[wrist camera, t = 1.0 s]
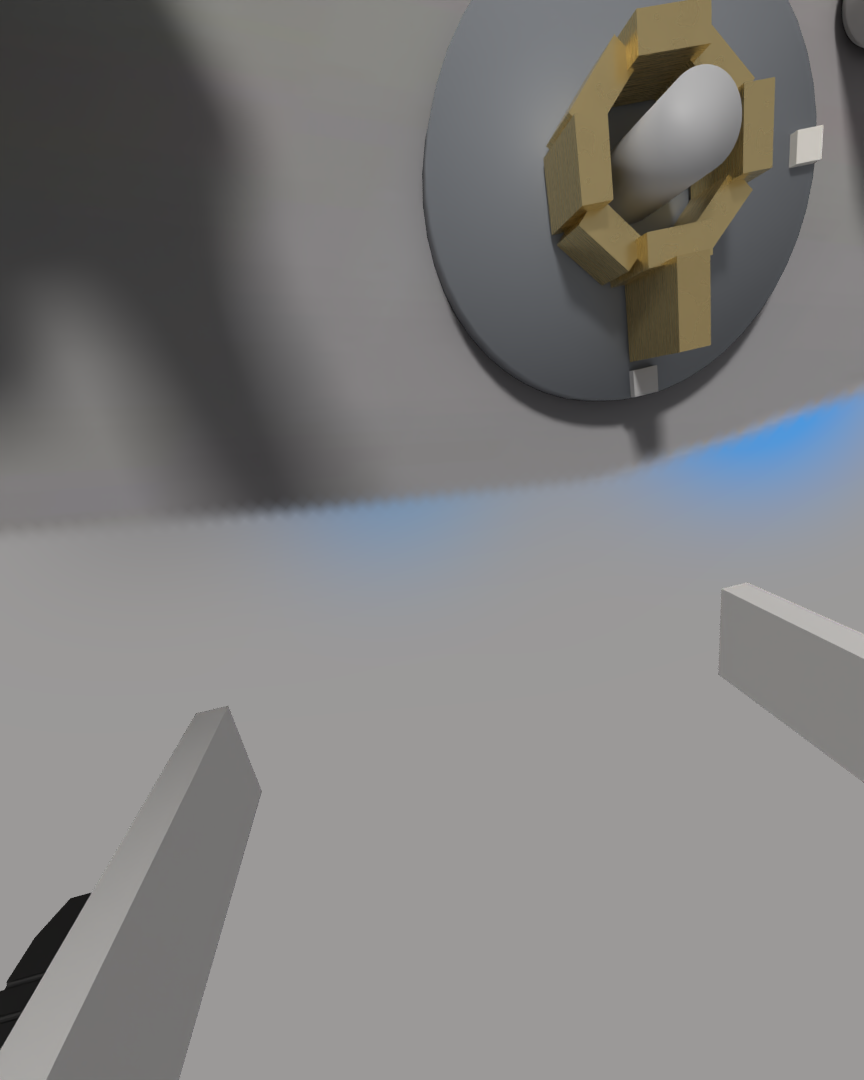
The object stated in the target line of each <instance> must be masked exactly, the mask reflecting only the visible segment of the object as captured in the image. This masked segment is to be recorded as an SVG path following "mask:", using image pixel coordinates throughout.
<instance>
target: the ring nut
mask: <svg viewBox="0 0 864 1080" xmlns="http://www.w3.org/2000/svg"><path fill="white" fill-rule="evenodd" d="M701 64H711V65H715V66H718V67H720V68H722V69H723V70H725V71H726V72H727V73H728V74H729V75H730V76H731V77H732V79H733V80H734V82H735V84H736V86H737V88H738V91H739V94H740V98H741V104H742V122H741V128H740V132H739V136H738V138H737V141H736V143H735V146H734V148H733V149H732V151H731V153H730V154H729V156H728V157H727V158H726V159H725V161H724V162H723V163H722V164H720V165H719V166H718V167H717V168H715V169H714V170H713V171H711V172H710V173H708V174H707V175H705V176H704V177H703V178H701V179H700V180H698V181H697V182H696V183H694V184H693V185H691V186H690V187H691V200H690V201H689V203H688V204H687V206H686V207H685V209H684V210H683V212H682V213H681V215H680V217H679V218H678V220H677V221H676V223H675V224H674V226H673V227H670V228H665V229H660V230H655V231H650V232H647V233H645V234H643V235H642V236H640V235H639V234H638V233H637V232H636V231H635V230H634V229H633V228H632V227H631V226H630V225H629V224H628V223H627V222H626V221H625V220H624V219H623V218H622V217H621V216H620V215H619V214H617V213H616V212H615V211H614V210H613V209H612V208H611V207H610V206H609V205H608V204H609V203H610V202H611V201H612V200H613V185H612V170H611V156H610V141H609V126H608V112H609V111H610V109H611V107H616V106H622V105H627V104H632V103H638V102H643V101H649V100H655V101H656V102H657V100H658V99H659V98H660V97H661V96H662V95H663V94H664V93H665V92H666V91H667V90H668V89H669V88H670V86H671V85H672V84H673V83H674V82H675V81H676V80H677V79H678V78H679V77H680V76H681V75H682V74H683V73H684V72H686V71H687V70H689V69H690V68H692V67H694V66H697V65H701ZM754 79H755V77H754V76H753V75H752V74H751V72H750V71H749V70H748V69H747V67H746V66H745V65H744V64H743V62H742V61H741V60H740V59H739V57H738V56H737V55H736V54H735V52H734V51H733V50H732V49H731V48H730V46H729V45H728V44H727V43H726V41H725V40H724V39H723V38H722V36H721V35H720V34H719V33H718V31H717V30H716V29H715V28H714V26H713V25H712V6H711V0H685V1H679V2H673V3H667V4H661V5H655V6H649V7H643V8H637V9H636V10H635V11H634V13H633V14H632V16H631V17H630V19H629V20H628V22H627V24H626V25H625V27H624V28H623V30H622V31H621V33H620V34H619V36H618V37H616V35H615V34H614V36H613V37H612V39H611V40H610V42H609V43H608V45H607V46H606V48H605V49H604V51H603V52H602V54H601V56H600V57H599V59H598V60H597V62H596V63H595V65H594V66H593V68H592V69H591V71H590V73H589V74H588V76H587V77H586V79H585V80H584V82H583V84H582V86H581V87H580V89H579V91H578V92H577V94H576V96H575V97H574V99H573V101H572V103H571V104H570V106H569V108H568V109H567V111H566V113H565V115H564V116H563V118H562V120H561V121H560V123H559V125H558V126H557V128H556V130H555V132H554V133H553V135H552V137H551V138H550V140H549V142H548V144H547V145H546V147H547V148H548V149H549V151H548V153H547V154H546V156H545V157H544V159H543V160H544V169H545V178H546V187H547V196H548V206H549V215H550V224H551V233H552V235H556V234H561V233H564V234H563V235H562V237H561V239H560V240H559V242H558V244H557V246H558V247H559V248H560V249H561V250H562V251H564V252H565V253H566V254H567V255H568V256H569V257H570V258H571V259H573V260H574V261H575V262H576V263H577V264H578V265H579V266H580V267H582V268H583V269H584V270H585V271H586V272H587V273H588V274H589V275H591V276H592V277H593V278H594V279H595V280H596V281H597V282H598V283H600V284H601V285H602V286H603V285H605V284H606V283H608V282H610V285H611V288H613V287H618V286H622V285H625V296H626V312H627V327H628V343H629V359H630V362H633V361H638V360H643V359H648V358H654V357H659V356H664V355H669V354H674V353H679V352H684V351H688V350H692V349H697V348H701V347H705V346H709V345H711V285H710V256H711V255H713V247H714V246H715V244H716V243H717V241H718V240H719V239H720V237H721V236H722V234H723V233H724V231H725V230H726V228H727V227H728V225H729V224H730V222H731V221H732V219H733V218H734V217H735V215H736V214H737V212H738V211H739V209H740V208H741V206H742V205H743V203H744V202H745V200H746V199H747V197H748V196H749V195H750V193H751V192H752V190H753V189H752V188H751V187H750V186H749V185H748V184H747V183H748V182H749V181H751V180H753V179H754V178H756V177H758V176H759V175H761V174H763V173H764V172H766V171H768V170H769V169H771V168H772V165H773V133H774V101H775V77H772V78H766V79H761V80H756V81H753V80H754Z"/></svg>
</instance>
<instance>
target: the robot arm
mask: <svg viewBox="0 0 864 1080" xmlns="http://www.w3.org/2000/svg"><path fill="white" fill-rule="evenodd" d="M720 619H721V620H720V644H719V645H720V646H719V672H718V674H719V675H720V676H721V677H722V678H724V679H725V680H727V681H728V682H729V683H730V684H732V685H733V686H735V687H736V688H737V689H738V690H740V691H741V692H743V693H744V694H745V695H747V696H748V697H749V698H751V699H752V700H753V701H755V702H756V703H757V704H759V705H760V706H761V707H763V708H764V709H765V710H767V711H768V712H769V713H771V714H772V715H773V716H775V717H776V718H778V719H779V720H780V721H782V722H783V723H784V724H786V725H787V726H788V727H790V728H791V729H792V730H794V731H795V732H796V733H798V734H799V735H801V736H802V737H803V738H804V739H806V740H807V741H809V742H810V743H811V744H813V745H814V746H815V747H817V748H818V749H819V750H821V751H822V752H823V753H825V754H826V755H827V756H829V757H830V758H831V759H833V760H834V761H835V762H837V763H838V764H839V765H841V766H842V767H843V768H845V769H846V770H847V771H849V772H850V773H851V774H853V775H854V776H855V777H857V778H858V779H860V780H861V781H862V782H864V634H862V633H860V632H858V631H856V630H853V629H851V628H849V627H846V626H844V625H842V624H840V623H838V622H835V621H833V620H831V619H829V618H826V617H824V616H822V615H820V614H817V613H815V612H813V611H811V610H808V609H806V608H804V607H801V606H799V605H797V604H795V603H792V602H790V601H788V600H786V599H783V598H781V597H779V596H777V595H774V594H772V593H770V592H768V591H765V590H763V589H761V588H759V587H756V586H754V585H752V584H749V583H743V584H740V585H735V586H731V587H727V588H722V590H721V617H720ZM260 795H261V789H260V786H259V783H258V781H257V778H256V776H255V774H254V771H253V768H252V766H251V763H250V761H249V758H248V755H247V753H246V750H245V748H244V745H243V743H242V740H241V738H240V735H239V733H238V730H237V728H236V725H235V722H234V720H233V717H232V715H231V712H230V710H229V707H228V706H226V707H221V708H217V709H213V710H209V711H205V712H200V713H196V714H195V716H194V718H193V720H192V721H191V723H190V725H189V726H188V728H187V730H186V732H185V733H184V735H183V737H182V739H181V740H180V742H179V744H178V745H177V747H176V749H175V751H174V753H173V754H172V756H171V758H170V759H169V761H168V763H167V764H166V766H165V768H164V770H163V771H162V773H161V775H160V777H159V778H158V780H157V782H156V783H155V785H154V787H153V788H152V790H151V792H150V794H149V795H148V797H147V799H146V800H145V802H144V804H143V806H142V807H141V809H140V811H139V812H138V814H137V816H136V818H135V819H134V821H133V823H132V825H131V826H130V828H129V830H128V832H127V833H126V835H125V837H124V838H123V840H122V842H121V843H120V845H119V847H118V849H117V850H116V852H115V854H114V855H113V857H112V859H111V861H110V863H109V864H108V866H107V867H106V869H105V871H104V873H103V874H102V876H101V878H100V879H99V881H98V883H97V885H96V887H95V888H94V890H93V892H92V893H89V894H85V895H81V896H77V897H74V898H71V899H70V900H69V901H68V902H67V903H66V904H65V905H64V906H63V907H62V908H61V909H60V911H59V912H58V913H57V914H56V915H55V916H54V917H53V918H52V919H51V921H50V922H49V923H48V924H47V925H46V926H45V927H44V928H43V929H42V930H41V931H40V933H39V934H38V935H37V936H36V937H35V938H34V940H33V941H32V943H31V945H30V946H29V948H28V949H27V951H26V952H25V954H24V955H23V957H22V959H21V960H20V962H19V963H18V965H17V966H16V968H15V970H14V971H13V973H12V975H11V976H10V977H9V979H8V981H7V986H6V988H5V990H3V991H0V1080H179V1077H180V1074H181V1070H182V1067H183V1063H184V1059H185V1057H186V1053H187V1050H188V1046H189V1043H190V1039H191V1036H192V1032H193V1029H194V1025H195V1021H196V1018H197V1014H198V1011H199V1008H200V1004H201V1001H202V997H203V994H204V990H205V987H206V983H207V980H208V976H209V973H210V969H211V965H212V962H213V959H214V955H215V952H216V948H217V945H218V941H219V938H220V934H221V931H222V927H223V924H224V921H225V917H226V913H227V910H228V907H229V903H230V900H231V896H232V893H233V889H234V886H235V882H236V879H237V875H238V872H239V868H240V865H241V861H242V858H243V854H244V851H245V847H246V844H247V841H248V837H249V833H250V830H251V827H252V823H253V819H254V816H255V813H256V809H257V806H258V802H259V799H260Z"/></svg>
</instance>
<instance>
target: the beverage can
mask: <svg viewBox="0 0 864 1080" xmlns="http://www.w3.org/2000/svg"><path fill="white" fill-rule="evenodd" d="M842 18H843V24H844V28H845V31H846V33H847V35H848V37H849V39H850V40H851V41H852V42H853V43H854V44H856V45H857V46H859V47H862V48H864V0H843V5H842Z"/></svg>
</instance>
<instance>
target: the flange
mask: <svg viewBox="0 0 864 1080" xmlns="http://www.w3.org/2000/svg"><path fill="white" fill-rule="evenodd" d="M679 1H685V0H472V1H471V3H470V4H469V6H468V7H467V9H466V11H465V12H464V14H463V16H462V18H461V20H460V23H459V25H458V27H457V29H456V31H455V34H454V36H453V38H452V40H451V43H450V45H449V47H448V49H447V53H446V56H445V59H444V62H443V65H442V68H441V72H440V75H439V78H438V81H437V85H436V89H435V94H434V99H433V104H432V109H431V114H430V119H429V124H428V129H427V134H426V139H425V148H424V160H423V172H422V180H423V209H424V216H425V224H426V231H427V238H428V242H429V246H430V250H431V254H432V258H433V262H434V266H435V268H436V271H437V274H438V277H439V279H440V282H441V285H442V287H443V290H444V292H445V294H446V296H447V298H448V300H449V302H450V304H451V306H452V308H453V310H454V312H455V314H456V316H457V317H458V319H459V320H460V322H461V323H462V325H463V326H464V328H465V329H466V331H467V332H468V334H469V335H470V337H471V338H472V339H473V340H474V341H475V342H476V344H477V345H478V346H479V347H480V348H481V349H482V350H483V351H484V353H485V354H486V355H487V356H488V357H489V358H490V359H492V360H493V361H494V362H495V363H496V364H497V365H499V366H500V367H501V368H502V369H503V370H504V371H506V372H507V373H509V374H510V375H512V376H513V377H515V378H517V379H518V380H520V381H521V382H523V383H524V384H527V385H529V386H531V387H533V388H535V389H538V390H540V391H542V392H545V393H548V394H552V395H555V396H559V397H562V398H567V399H575V400H583V401H602V400H621V399H627V398H633V397H639V396H644V395H647V394H650V393H654V392H658V391H660V390H663V389H666V388H668V387H670V386H672V385H674V384H676V383H679V382H681V381H683V380H685V379H687V378H688V377H690V376H691V375H693V374H695V373H696V372H698V371H699V370H701V369H703V368H704V367H706V366H707V365H708V364H709V363H711V362H712V361H713V360H714V359H716V358H717V357H718V356H719V355H721V354H722V353H723V352H724V351H725V350H726V349H727V348H728V347H729V346H730V345H731V344H732V343H733V342H734V341H735V340H736V339H737V338H738V337H739V336H740V335H741V334H742V333H743V332H744V331H745V329H746V328H747V327H748V326H749V324H750V323H751V322H752V321H753V319H754V318H755V317H756V316H757V314H758V313H759V312H760V310H761V309H762V307H763V306H764V304H765V302H766V301H767V299H768V298H769V296H770V295H771V293H772V292H773V290H774V288H775V286H776V285H777V283H778V281H779V279H780V277H781V275H782V273H783V271H784V269H785V267H786V265H787V263H788V261H789V258H790V256H791V253H792V251H793V248H794V246H795V243H796V241H797V238H798V235H799V232H800V229H801V225H802V222H803V219H804V215H805V212H806V209H807V204H808V199H809V194H810V189H811V184H812V179H813V170H814V163H815V162H817V161H819V160H821V157H822V141H823V125H820V126H816V106H815V95H814V84H813V78H812V73H811V68H810V63H809V58H808V53H807V49H806V46H805V43H804V40H803V36H802V33H801V30H800V27H799V24H798V21H797V18H796V16H795V14H794V12H793V10H792V7H791V5H790V3H789V1H788V0H711V6H712V25H713V26H714V28H715V29H716V30H717V31H718V33H719V34H720V35H721V36H722V38H723V39H724V40H725V41H726V43H727V44H728V45H729V46H730V48H731V49H732V50H733V51H734V52H735V54H736V55H737V56H738V57H739V59H740V60H741V61H742V62H743V64H744V65H745V66H746V67H747V69H748V70H749V71H750V72H751V74H752V75H753V76H754V77H755V79H754V80H753V81H756V80H761V79H766V78H772V77H775V101H774V133H773V165H772V168H771V169H769V170H768V171H766V172H764V173H763V174H761V175H759V176H758V177H756V178H754V179H753V180H751V181H749V182H748V183H747V184H748V185H749V186H750V187H751V188H752V189H753V190H752V192H751V193H750V195H749V196H748V197H747V199H746V200H745V202H744V203H743V205H742V206H741V208H740V209H739V211H738V212H737V214H736V215H735V217H734V218H733V219H732V221H731V222H730V224H729V225H728V227H727V228H726V230H725V231H724V233H723V234H722V236H721V237H720V239H719V240H718V241H717V243H716V244H715V246H714V247H713V255H711V256H710V285H711V345H709V346H705V347H701V348H697V349H692V350H688V351H684V352H679V353H674V354H669V355H664V356H659V357H654V358H648V359H643V360H638V361H633V362H630V359H629V343H628V327H627V312H626V296H625V285H622V286H618V287H613V288H611V285H610V282H608V283H606V284H605V285H603V286H602V285H601V284H600V283H598V282H597V281H596V280H595V279H594V278H593V277H592V276H591V275H589V274H588V273H587V272H586V271H585V270H584V269H583V268H582V267H580V266H579V265H578V264H577V263H576V262H575V261H574V260H573V259H571V258H570V257H569V256H568V255H567V254H566V253H565V252H564V251H562V250H561V249H560V248H559V247H558V246H557V244H558V242H559V240H560V239H561V237H562V235H563V234H564V233H561V234H556V235H552V233H551V224H550V215H549V206H548V196H547V187H546V178H545V169H544V160H543V159H544V157H545V156H546V154H547V153H548V151H549V149H548V148H547V147H546V145H547V144H548V142H549V140H550V138H551V137H552V135H553V133H554V132H555V130H556V128H557V126H558V125H559V123H560V121H561V120H562V118H563V116H564V115H565V113H566V111H567V109H568V108H569V106H570V104H571V103H572V101H573V99H574V97H575V96H576V94H577V92H578V91H579V89H580V87H581V86H582V84H583V82H584V80H585V79H586V77H587V76H588V74H589V73H590V71H591V69H592V68H593V66H594V65H595V63H596V62H597V60H598V59H599V57H600V56H601V54H602V52H603V51H604V49H605V48H606V46H607V45H608V43H609V42H610V40H611V39H612V37H613V36H614V34H615V35H616V37H618V36H619V34H620V33H621V31H622V30H623V28H624V27H625V25H626V24H627V22H628V20H629V19H630V17H631V16H632V14H633V13H634V11H635V10H636V9H637V8H643V7H649V6H655V5H661V4H667V3H673V2H679ZM741 122H742V104H741V98H740V94H739V91H738V88H737V86H736V84H735V82H734V80H733V79H732V77H731V76H730V75H729V74H728V73H727V72H726V71H725V70H723V69H722V68H720V67H718V66H715V65H711V64H701V65H697V66H694V67H692V68H690V69H689V70H687V71H686V72H684V73H683V74H682V75H681V76H680V77H679V78H678V79H677V80H676V81H675V82H674V83H673V84H672V85H671V86H670V88H669V89H668V90H667V91H666V92H665V93H664V94H663V95H662V96H661V97H660V98H659V99H658V100H657V102H656V101H655V100H649V101H643V102H638V103H632V104H627V105H622V106H616V107H611V109H610V111H609V112H608V126H609V141H610V156H611V170H612V185H613V200H612V201H611V202H610V203H609V204H608V205H609V206H610V207H611V208H612V209H613V210H614V211H615V212H616V213H617V214H619V215H620V216H621V217H622V218H623V219H624V220H625V221H626V222H627V223H628V224H629V225H630V226H631V227H632V228H633V229H634V230H635V231H636V232H637V233H638V234H639V235H640V236H642V235H643V234H645V233H647V232H650V231H655V230H660V229H665V228H670V227H673V226H674V224H675V223H676V221H677V220H678V218H679V217H680V215H681V213H682V212H683V210H684V209H685V207H686V206H687V204H688V203H689V201H690V200H691V187H690V186H691V185H693V184H694V183H696V182H697V181H698V180H700V179H701V178H703V177H704V176H705V175H707V174H708V173H710V172H711V171H713V170H714V169H715V168H717V167H718V166H719V165H720V164H722V163H723V162H724V161H725V159H726V158H727V157H728V156H729V154H730V153H731V151H732V149H733V148H734V146H735V143H736V141H737V138H738V136H739V132H740V128H741Z"/></svg>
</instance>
